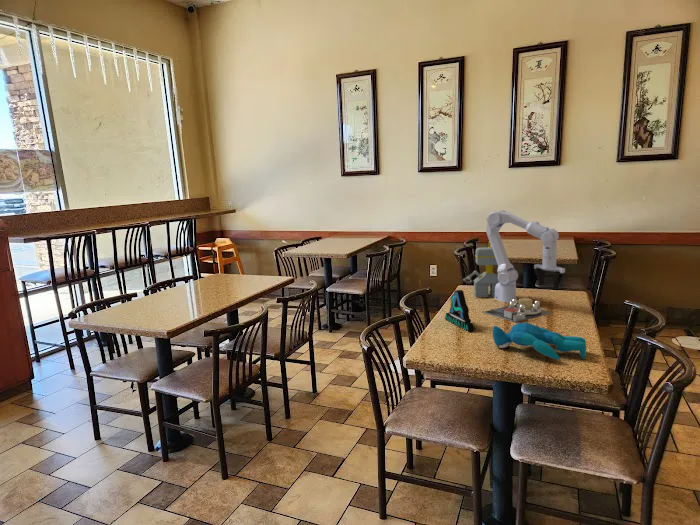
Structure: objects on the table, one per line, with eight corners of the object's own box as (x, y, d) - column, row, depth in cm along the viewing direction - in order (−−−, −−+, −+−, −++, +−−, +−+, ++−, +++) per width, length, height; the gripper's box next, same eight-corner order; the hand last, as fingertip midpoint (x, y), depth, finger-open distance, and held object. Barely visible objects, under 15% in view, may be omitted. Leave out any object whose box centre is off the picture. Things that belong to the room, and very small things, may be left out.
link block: (518, 308, 202) (518, 299, 202) (524, 306, 204) (525, 297, 203) (525, 310, 199) (526, 301, 198) (532, 308, 201) (532, 299, 200)
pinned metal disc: (500, 310, 204) (500, 301, 203) (522, 304, 211) (522, 296, 210) (526, 317, 192) (526, 308, 191) (548, 311, 199) (549, 302, 198)
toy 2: (583, 350, 160) (495, 338, 173) (586, 321, 158) (496, 311, 171) (585, 371, 144) (487, 355, 156) (589, 339, 142) (489, 326, 154)
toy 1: (513, 293, 235) (513, 235, 230) (517, 297, 227) (518, 237, 222) (461, 294, 238) (461, 237, 233) (464, 298, 230) (463, 239, 224)
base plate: (481, 314, 203) (481, 306, 202) (518, 305, 214) (518, 298, 213) (516, 324, 186) (516, 316, 186) (553, 314, 197) (553, 306, 197)
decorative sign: (474, 331, 181) (474, 295, 178) (468, 332, 180) (468, 295, 177) (450, 319, 199) (449, 285, 196) (444, 319, 198) (444, 286, 195)
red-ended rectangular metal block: (503, 318, 193) (504, 308, 192) (510, 316, 195) (510, 307, 194) (511, 320, 190) (511, 311, 189) (518, 318, 192) (518, 309, 191)
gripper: (529, 255, 207) (529, 285, 210) (557, 259, 195) (556, 290, 197) (540, 254, 211) (539, 282, 213) (568, 257, 198) (567, 288, 200)
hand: (548, 286), depth 205 cm, fingers open, 7 cm apart
